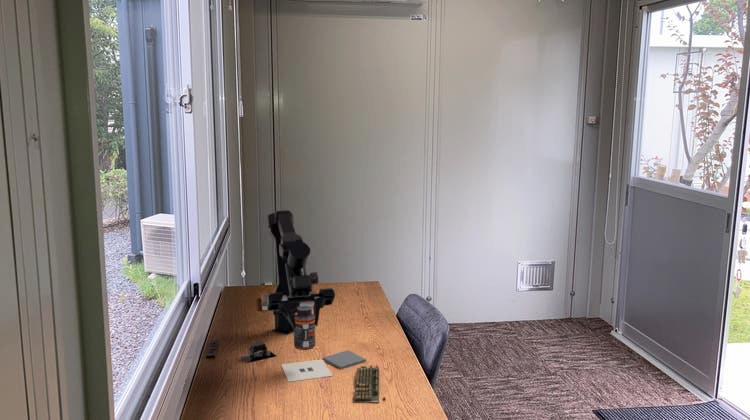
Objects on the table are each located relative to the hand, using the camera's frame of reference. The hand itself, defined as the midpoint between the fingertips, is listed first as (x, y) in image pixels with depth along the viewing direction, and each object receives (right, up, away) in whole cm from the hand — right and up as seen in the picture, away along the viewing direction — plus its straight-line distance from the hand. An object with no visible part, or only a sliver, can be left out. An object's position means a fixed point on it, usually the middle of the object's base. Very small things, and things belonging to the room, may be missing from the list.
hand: (305, 326), depth 167 cm
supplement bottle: (0, -6, +2) cm, 7 cm away
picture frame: (-13, -4, +66) cm, 67 cm away
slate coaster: (+10, -11, +9) cm, 18 cm away
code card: (0, -13, +2) cm, 13 cm away
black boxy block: (-15, -12, +12) cm, 23 cm away
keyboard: (+18, -15, -7) cm, 24 cm away
